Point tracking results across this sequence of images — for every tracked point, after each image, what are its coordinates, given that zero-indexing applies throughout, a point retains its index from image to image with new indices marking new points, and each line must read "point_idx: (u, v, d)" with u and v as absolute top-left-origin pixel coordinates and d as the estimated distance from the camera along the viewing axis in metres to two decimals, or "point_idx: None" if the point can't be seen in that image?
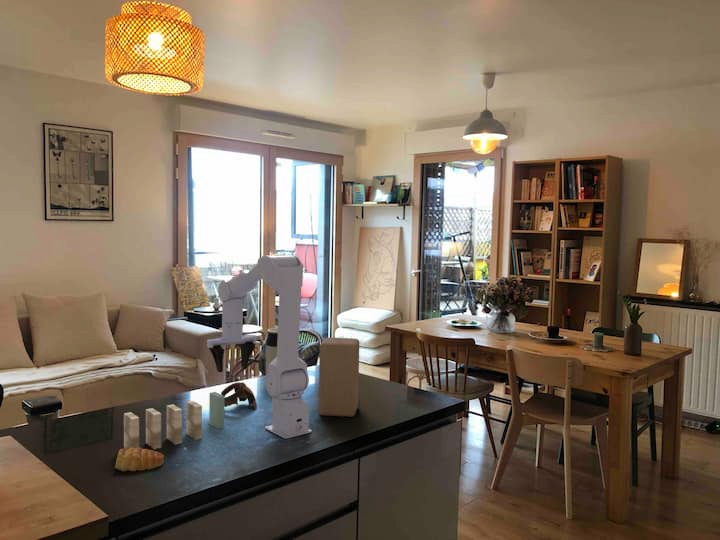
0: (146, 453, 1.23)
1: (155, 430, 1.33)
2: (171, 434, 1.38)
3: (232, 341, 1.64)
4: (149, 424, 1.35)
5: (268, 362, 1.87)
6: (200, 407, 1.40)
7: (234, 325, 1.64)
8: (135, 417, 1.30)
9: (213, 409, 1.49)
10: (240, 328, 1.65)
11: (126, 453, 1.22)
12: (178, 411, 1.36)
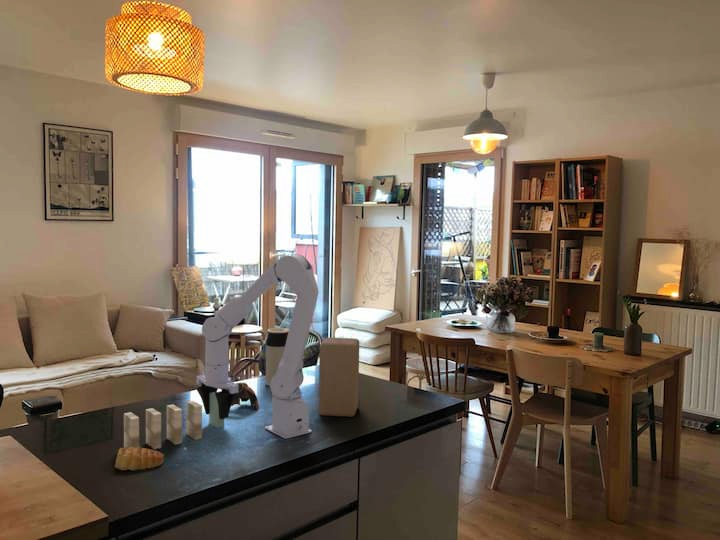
0: (146, 452, 1.24)
1: (155, 430, 1.33)
2: (171, 434, 1.38)
3: (204, 383, 1.48)
4: (149, 424, 1.35)
5: (268, 362, 1.87)
6: (200, 407, 1.40)
7: (206, 366, 1.47)
8: (135, 417, 1.30)
9: (213, 409, 1.49)
10: (211, 371, 1.46)
11: (126, 452, 1.23)
12: (178, 411, 1.36)
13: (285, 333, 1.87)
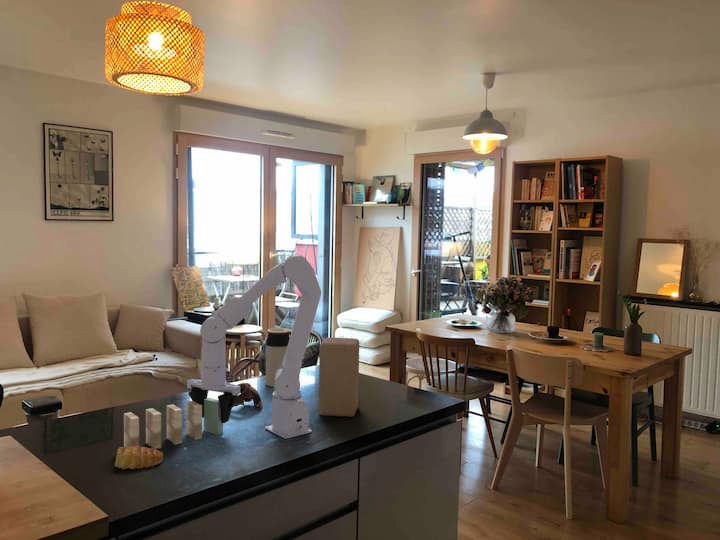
0: (145, 451, 1.24)
1: (155, 430, 1.33)
2: (171, 434, 1.38)
3: (201, 387, 1.42)
4: (149, 424, 1.35)
5: (268, 362, 1.87)
6: (200, 407, 1.40)
7: (204, 369, 1.42)
8: (135, 417, 1.30)
9: (210, 416, 1.44)
10: (211, 374, 1.41)
11: (125, 451, 1.23)
12: (178, 411, 1.36)
13: (285, 333, 1.87)
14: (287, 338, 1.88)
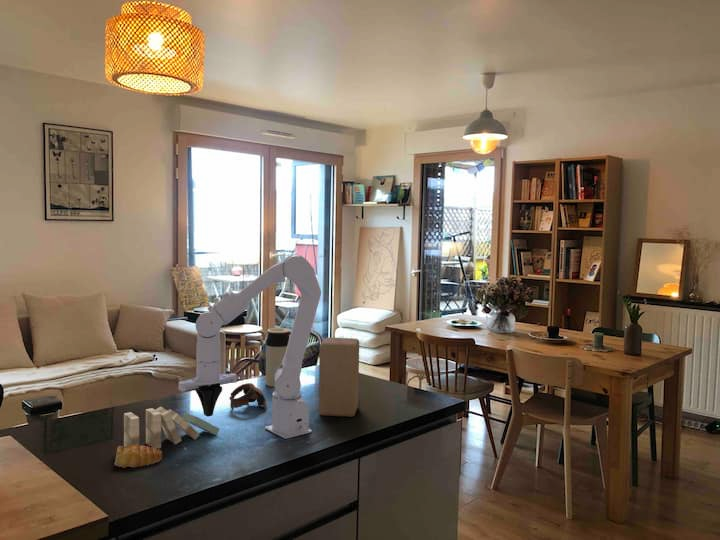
0: (145, 449, 1.25)
1: (155, 430, 1.33)
2: (168, 435, 1.37)
3: (208, 383, 1.40)
4: (149, 424, 1.35)
5: (268, 362, 1.87)
6: (178, 416, 1.36)
7: (210, 364, 1.40)
8: (135, 417, 1.30)
9: (198, 426, 1.41)
10: (218, 367, 1.42)
11: (125, 450, 1.24)
12: (166, 414, 1.34)
13: (285, 333, 1.87)
14: (287, 338, 1.88)
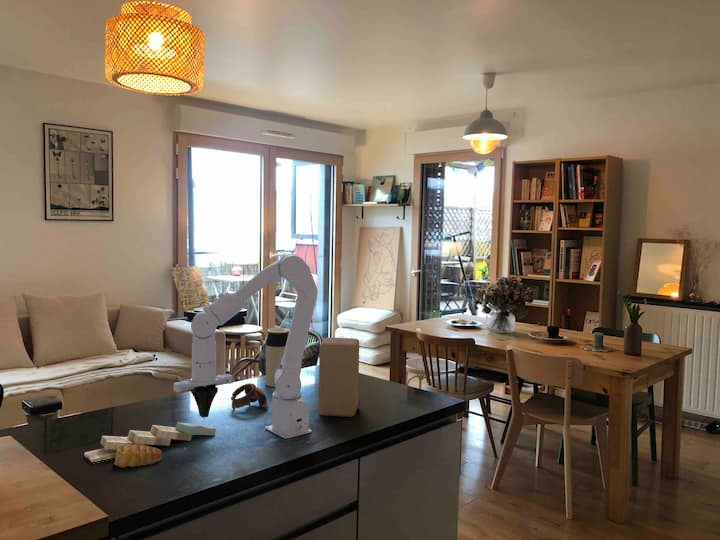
0: (144, 449, 1.25)
1: None
2: None
3: (203, 384, 1.40)
4: None
5: (268, 362, 1.87)
6: (161, 432, 1.34)
7: (206, 365, 1.40)
8: (90, 460, 1.25)
9: None
10: (213, 368, 1.41)
11: (125, 449, 1.24)
12: (138, 440, 1.30)
13: (285, 333, 1.87)
14: None
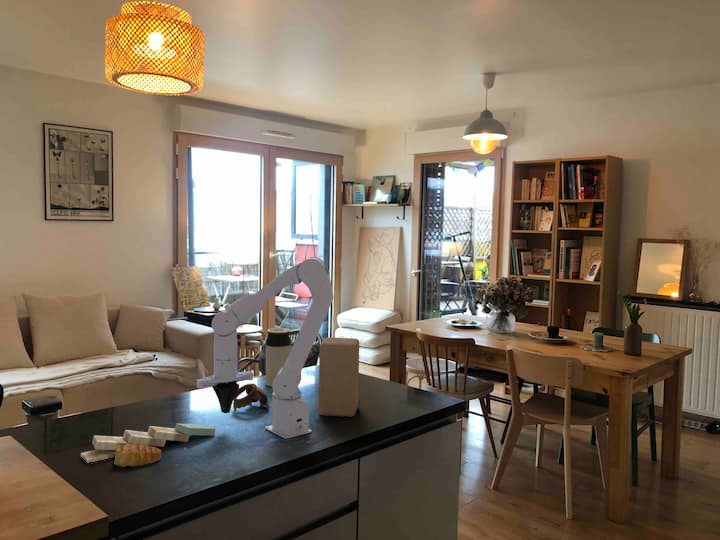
0: (144, 448, 1.26)
1: (113, 448, 1.28)
2: None
3: (226, 380, 1.43)
4: None
5: (268, 362, 1.87)
6: (158, 433, 1.33)
7: (228, 362, 1.43)
8: (86, 460, 1.24)
9: None
10: (235, 365, 1.45)
11: (124, 449, 1.24)
12: (132, 440, 1.30)
13: (285, 333, 1.87)
14: (287, 338, 1.88)
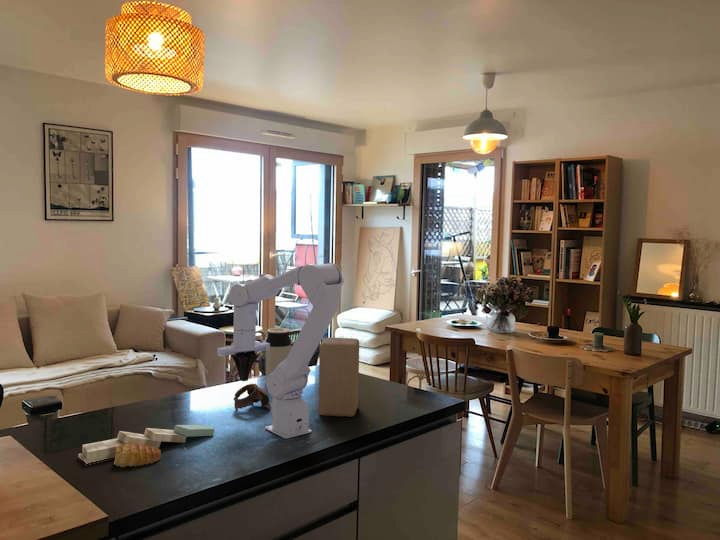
0: (144, 448, 1.26)
1: (106, 454, 1.26)
2: None
3: (245, 349, 1.51)
4: None
5: (268, 362, 1.87)
6: (156, 435, 1.32)
7: (247, 332, 1.51)
8: (84, 461, 1.24)
9: None
10: (253, 335, 1.53)
11: (124, 449, 1.24)
12: (129, 440, 1.28)
13: (285, 333, 1.87)
14: (287, 338, 1.88)
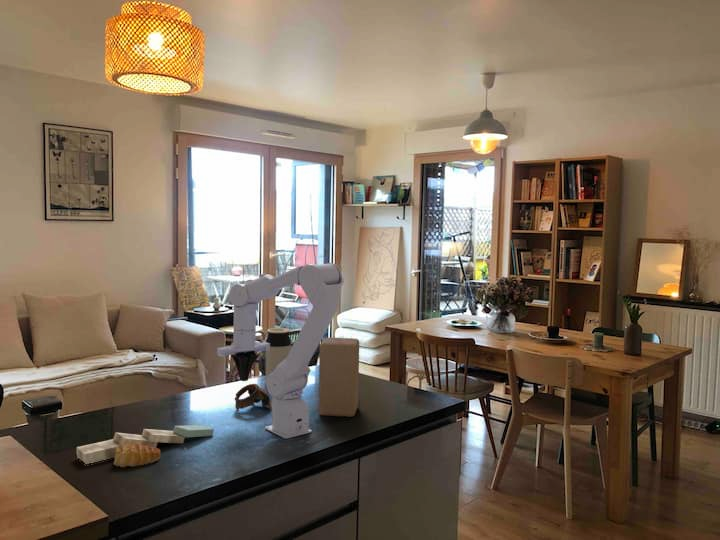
0: (143, 448, 1.26)
1: (102, 455, 1.25)
2: None
3: (245, 349, 1.51)
4: None
5: (268, 362, 1.87)
6: (154, 436, 1.32)
7: (247, 332, 1.51)
8: (84, 462, 1.24)
9: None
10: (253, 335, 1.53)
11: (124, 449, 1.24)
12: (124, 442, 1.28)
13: (285, 333, 1.87)
14: (287, 338, 1.88)
